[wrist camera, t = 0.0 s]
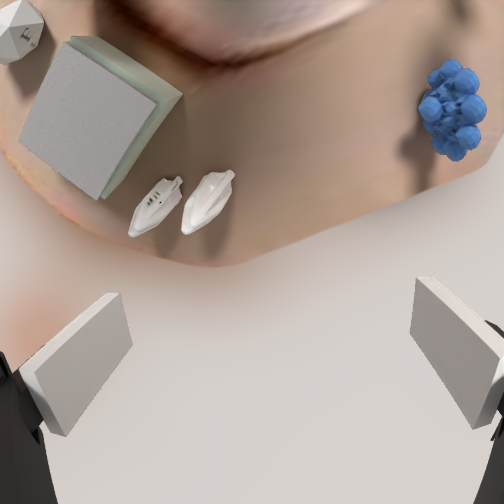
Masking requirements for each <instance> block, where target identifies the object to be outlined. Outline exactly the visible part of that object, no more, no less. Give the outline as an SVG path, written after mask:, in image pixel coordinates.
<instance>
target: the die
mask: <svg viewBox="0 0 504 504" xmlns="http://www.w3.org/2000/svg"><path fill="white" fill-rule="evenodd" d="M43 26H44V21H43V18H42V16H41V13H40V11H39V10H38V9H37V8H36V7H34V6H33V5H32V4H31V3H30V2H29V1H28V0H17V1H15V2H13V3H12V4H10V5H8V6H6V7H4V8H2V9H1V10H0V63H1V64H3V65H5V64H8V63H11V62H13V61H16V60H19V59H21V58H22V57H23V56H25V55H26V54H27V53H29V52H30V51H31V50H33V49H34V48H36V47H37V46H38V43H39V40H40V36H41V32H42V29H43Z"/></svg>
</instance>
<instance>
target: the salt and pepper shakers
mask: <svg viewBox="0 0 504 504" xmlns="http://www.w3.org/2000/svg"><path fill="white" fill-rule="evenodd" d="M234 176H235V174H234V172H233V171H231V170H227V171H226V172H223V173H216V172H212V173H210V174H208V175H205V176H204V177H203V178H202V180H201V182H200V184H199V186H198V187H197V188H196V189H195V191H194V192H193V193H192V195H191V196H190V197H189V199H188V200H187V202H186V203H185V206H184V212H183V218H182V226H181V230H182V232H183V233H184V234H185V235H189V234H191V233H193V232H194V231H196V230H198V229H199V228H201V227H203V226H204V225H206V224H208V223H209V222H210V221H211V220H212V219H213V218H215V217H216V216H217V215H218V214H219V213H220V212H221V210H222V209H223V207H224V206H225V204H226V202H227V200H228V198H229V197H230V195H231V193H232V188H231V180H232V179H233V178H234ZM176 181H177V182H178V183H177V182H176ZM181 183H182V179H181V177H179V176H177V177H176V179H175V180H174V181H168V180H166V179H165V178H164V179H162V180H161V181H159V182H157V183H156V185H155V187H154V188H153V189H152V190H151V191H150V192H149V193H148V194H147V195H146V196H145V197H144V199H143V200H142V201H141V202H140V204H139V205H138V206H137V207H136V209H135V212H134V214H133V217H132V220H131V223H130V227H129V230H128V235H129V236H130V237H136V236H138V235H140V234H142V233H144V232H146V231H148V230H150V229H152V228H154V227H156V226H157V225H159V224H160V223H161V221H162V220H163V219H164V218H165V217H166V216H167V215H168V214H169V213H170V211H171V210H172V209H173V208H174V207H175V205H177V204H178V203H179V201H180V200H181V198H182V194H180V193H181V192H180V189H179V186H180V184H181ZM176 184H178V185H177V186H176ZM175 186H176V187H175ZM174 187H175V188H174ZM173 188H174V190H173ZM171 190H172V191H171ZM155 191H156V192H157V193H159V194H160V195H158V194H157V193H156V192H155ZM155 196H156V197H157V199H156V197H155ZM160 201H161V203H160ZM159 203H160V204H159Z"/></svg>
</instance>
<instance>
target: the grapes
mask: <svg viewBox="0 0 504 504" xmlns="http://www.w3.org/2000/svg"><path fill="white" fill-rule="evenodd" d="M427 80H428V82H429V85H430V86H431V88H432V89H430V90H428V91H427V92H426V93H425V94H424V96H423V98H422V102H421V104H420V105H419V107H418V111H419V113H420V115H421V116H422V118H423V119H424V122H423V125H424V127H425V129H426V130H427V132H428V133H429V134H431V135H432V136H433V138H432V140H431V145H432V147H433V148H434V149H435V151H436V152H437V153H439V154H440V155H447V157H448V158H449V159H451V160H452V161H457V162H458V161H460V160H462V159H463V158H464V156H465V155H466V153H467V150H473V149H475V148H476V147H477V146H478V144H479V143H480V140H481V133H480V130H479V129H478V127H477V126H476V125H475V124H477V123H479V122H481V121H482V120H483V119H484V117H485V116H486V112H487V108H486V104H485V102H484V101H483V99H482V98H481V97H480V96H478V95H477V94H475V93H476V92H477V90H478V88H479V80H478V77H477V75H476V74H475V73H474V71H472V70H471V69H469V68H463V67H462V65H461V64H460V63H459V61H457V60H455V59H448V60H447V61H445V62H444V63H443V64H442V66H441V67H440V68H436V69H435V70H433V71H432V72H431V73H430V75H429V76H428V79H427Z"/></svg>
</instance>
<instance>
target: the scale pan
mask: <svg viewBox="0 0 504 504" xmlns="http://www.w3.org/2000/svg"><path fill="white" fill-rule="evenodd" d="M159 104H160V102H159V101H157V100H156V99H154V98H153V97H152V96H150V95H149V94H147V93H146V92H145V91H143V90H142V89H140V88H139V87H137V86H136V85H134V84H133V83H132V82H130V81H129V80H127V79H126V78H124V77H123V76H121V75H120V74H118V73H117V72H115V71H114V70H112V69H111V68H109V67H108V66H106V65H105V64H103V63H102V62H100V61H99V60H97V59H96V58H94V57H93V56H91V55H89V54H88V53H86V52H85V51H83V50H82V49H80V48H78V47H77V46H75V45H74V44H72V43H70V42H63V43H62V45H61V47H60V49H59V51H58V52H57V54H56V56H55V58H54V60H53V62H52V64H51V66H50V68H49V70H48V72H47V74H46V76H45V78H44V80H43V82H42V84H41V87H40V89H39V91H38V93H37V95H36V98H35V100H34V102H33V105H32V107H31V109H30V112H29V114H28V117H27V119H26V122H25V125H24V127H23V130H22V133H21V135H20V138H19V141H18V142H20V143H21V144H22V145H23V146H25V147H26V148H27V149H29V150H30V151H31V152H32V153H34V154H35V155H36V156H37V157H39V158H40V159H41V160H43V161H44V162H45V163H47V164H48V165H49V166H50V167H52V168H53V169H54V170H56V171H57V172H58V173H60V174H61V175H62V176H64V177H65V178H66V179H68V180H69V181H70V182H72V183H73V184H74V185H76V186H77V187H78V188H80V189H81V190H82V191H84V192H85V193H86V194H88V195H89V196H90V197H92V198H93V199H95V200H96V201H97V200H98V199H99V198H100V197H101V196H102V194H103V192H104V190H105V188H106V187H107V185H108V183H109V181H110V180H111V178H112V176H113V175H114V173H115V171H116V169H117V168H118V166H119V164H120V163H121V161H122V160H123V158H124V156H125V155H126V153H127V151H128V150H129V148H130V147H131V145H132V144H133V142H134V140H135V139H136V137H137V136H138V134H139V133H140V131H141V130H142V128H143V127H144V125H145V124H146V122H147V121H148V119H149V118H150V117H151V115H152V114H153V112H154V111H155V109H156V108H157V107H158V105H159Z"/></svg>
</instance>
